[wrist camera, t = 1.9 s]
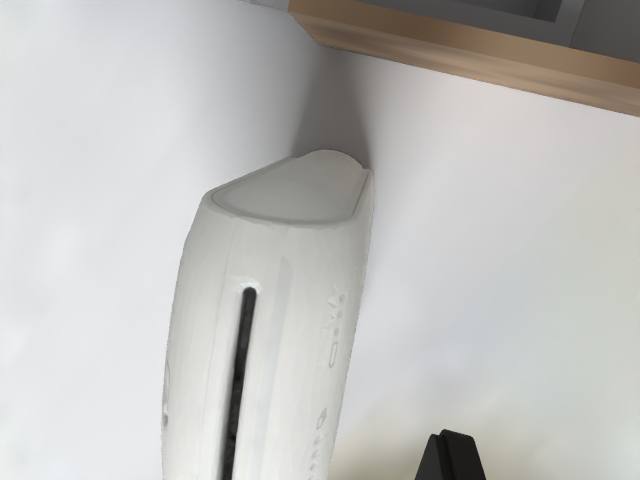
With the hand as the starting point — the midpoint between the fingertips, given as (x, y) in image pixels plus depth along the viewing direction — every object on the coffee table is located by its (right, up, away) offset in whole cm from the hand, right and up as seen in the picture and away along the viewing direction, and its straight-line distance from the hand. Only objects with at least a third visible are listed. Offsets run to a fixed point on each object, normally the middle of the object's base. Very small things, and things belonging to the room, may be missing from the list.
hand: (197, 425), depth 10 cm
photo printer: (+2, +3, +12) cm, 12 cm away
